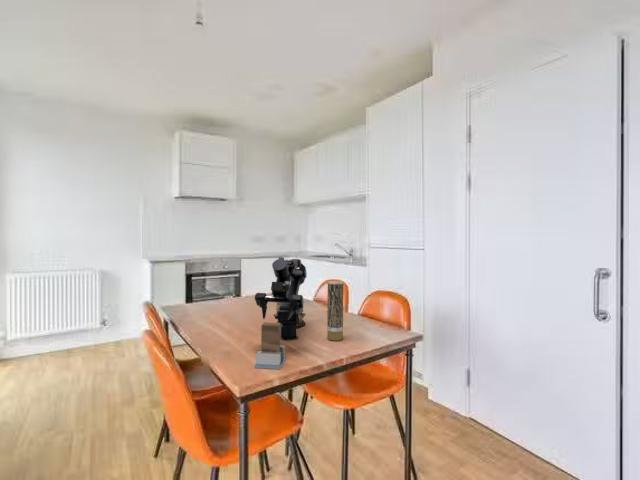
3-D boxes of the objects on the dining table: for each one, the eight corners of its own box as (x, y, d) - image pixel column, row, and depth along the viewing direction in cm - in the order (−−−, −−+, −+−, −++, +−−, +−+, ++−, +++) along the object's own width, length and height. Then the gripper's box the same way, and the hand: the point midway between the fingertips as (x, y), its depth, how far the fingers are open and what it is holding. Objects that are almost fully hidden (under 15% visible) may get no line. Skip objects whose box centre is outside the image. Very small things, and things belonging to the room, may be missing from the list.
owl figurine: (281, 332, 162) (280, 296, 161) (267, 327, 171) (266, 292, 170) (310, 325, 174) (310, 291, 173) (296, 321, 182) (296, 288, 182)
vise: (265, 353, 133) (265, 340, 133) (288, 354, 132) (288, 341, 132) (254, 367, 119) (254, 353, 119) (280, 369, 118) (280, 354, 118)
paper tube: (342, 336, 156) (342, 280, 155) (343, 341, 149) (344, 283, 148) (326, 336, 155) (327, 280, 155) (327, 341, 149) (328, 283, 148)
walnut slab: (264, 358, 126) (264, 322, 126) (280, 358, 125) (280, 322, 125) (261, 361, 122) (261, 324, 122) (278, 362, 122) (278, 325, 121)
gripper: (256, 272, 137) (247, 306, 127) (303, 274, 135) (297, 309, 125) (261, 288, 145) (252, 322, 135) (305, 290, 143) (300, 325, 133)
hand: (275, 319), depth 132 cm, fingers open, 9 cm apart
